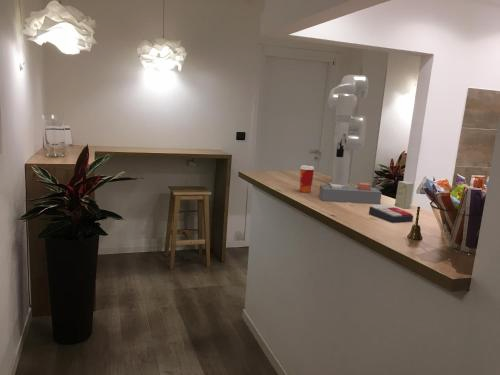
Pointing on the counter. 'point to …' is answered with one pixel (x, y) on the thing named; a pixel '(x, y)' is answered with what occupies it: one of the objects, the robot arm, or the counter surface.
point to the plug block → (349, 195)
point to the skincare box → (404, 194)
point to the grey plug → (335, 186)
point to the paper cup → (306, 178)
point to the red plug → (364, 186)
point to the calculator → (391, 214)
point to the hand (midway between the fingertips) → (339, 156)
